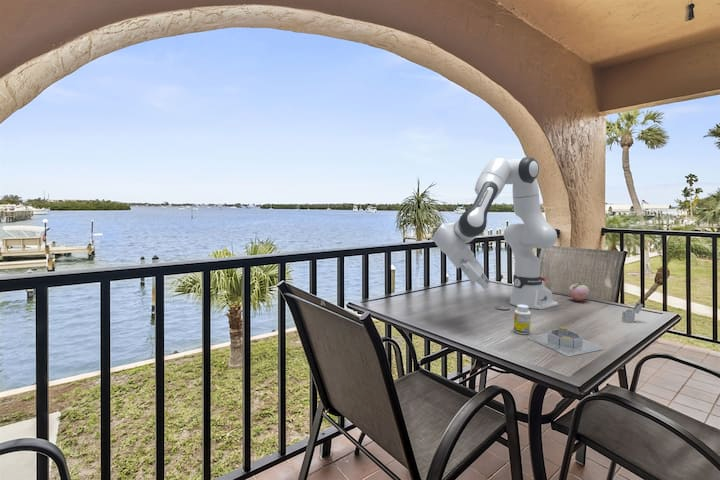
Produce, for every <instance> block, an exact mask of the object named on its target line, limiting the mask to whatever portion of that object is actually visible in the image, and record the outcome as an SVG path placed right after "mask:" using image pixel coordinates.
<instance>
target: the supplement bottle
mask: <svg viewBox="0 0 720 480" xmlns="http://www.w3.org/2000/svg"><path fill="white" fill-rule="evenodd" d="M529 309H530V308H529V307H528V306H527V305H517V306H516V309H515V310H514V313H513V314H514V318H513V331H514V332H515V333H517V334H519V335H528V334H530V332H531V311H530V310H529Z"/></svg>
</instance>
